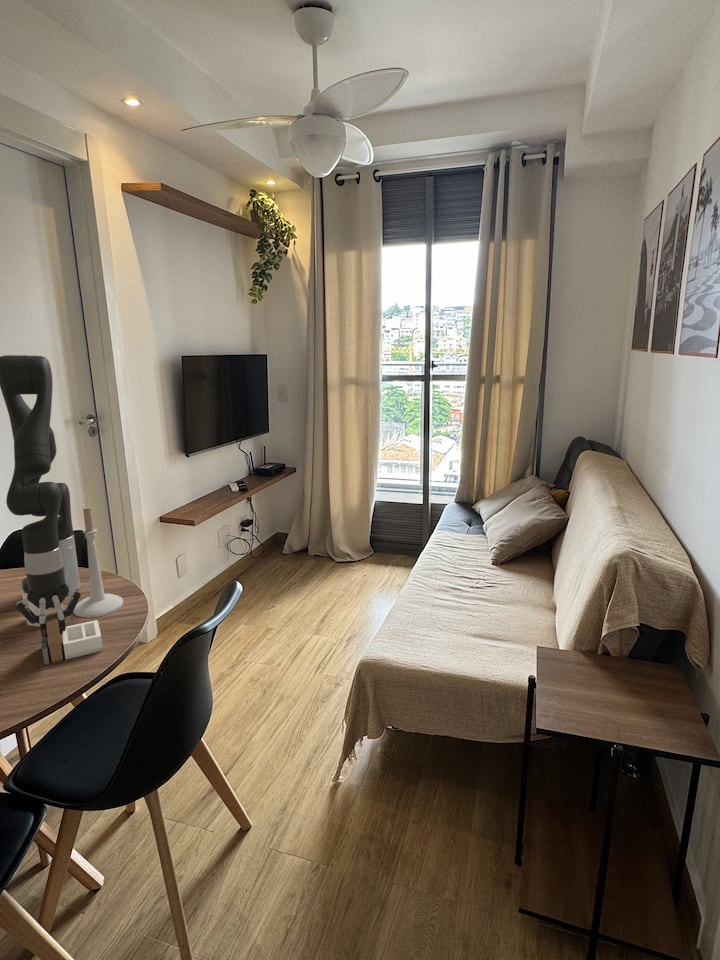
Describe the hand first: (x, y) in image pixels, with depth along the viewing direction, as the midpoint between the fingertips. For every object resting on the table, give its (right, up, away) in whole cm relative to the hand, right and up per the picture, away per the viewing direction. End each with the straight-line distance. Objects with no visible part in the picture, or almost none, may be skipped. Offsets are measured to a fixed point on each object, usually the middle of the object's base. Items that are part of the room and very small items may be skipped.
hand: (54, 634), depth 127 cm
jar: (-12, -1, +17) cm, 21 cm away
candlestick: (-1, +1, +24) cm, 24 cm away
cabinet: (+3, -4, +3) cm, 6 cm away
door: (0, -5, +1) cm, 5 cm away
